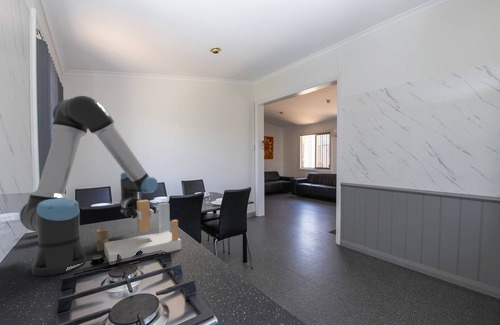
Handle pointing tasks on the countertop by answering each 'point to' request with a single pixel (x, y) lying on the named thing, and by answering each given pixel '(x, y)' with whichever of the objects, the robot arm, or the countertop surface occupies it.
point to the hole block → (144, 244)
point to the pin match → (143, 215)
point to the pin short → (101, 238)
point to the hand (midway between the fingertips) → (146, 215)
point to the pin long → (164, 217)
